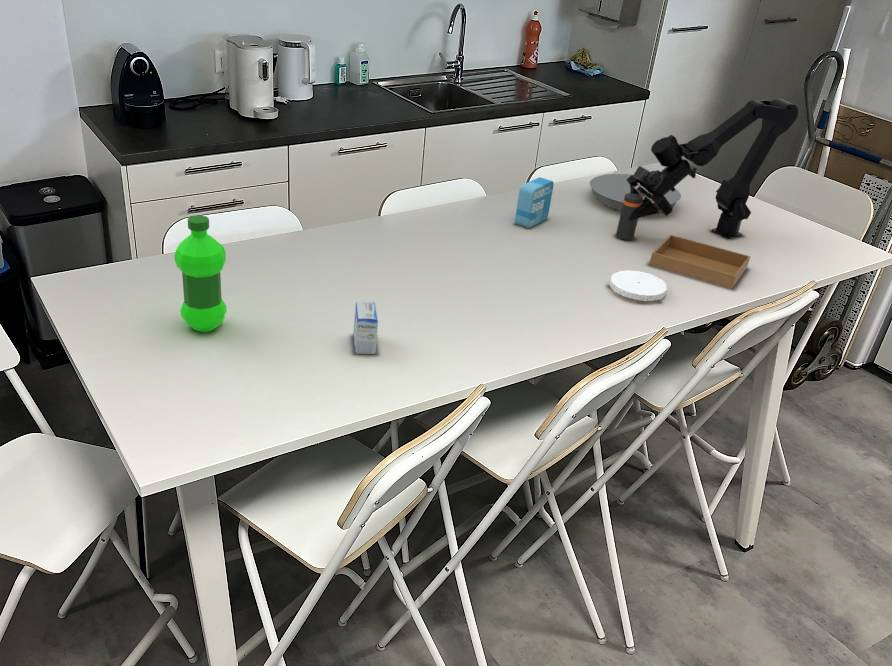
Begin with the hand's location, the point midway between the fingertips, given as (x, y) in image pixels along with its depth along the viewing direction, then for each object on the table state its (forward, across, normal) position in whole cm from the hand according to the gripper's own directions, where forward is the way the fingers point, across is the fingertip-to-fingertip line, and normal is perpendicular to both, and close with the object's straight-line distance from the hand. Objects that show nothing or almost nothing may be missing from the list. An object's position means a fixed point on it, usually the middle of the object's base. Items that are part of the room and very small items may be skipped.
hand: (625, 215), depth 241 cm
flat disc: (-7, -26, +17) cm, 31 cm away
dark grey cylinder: (+4, 0, +5) cm, 6 cm away
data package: (+20, -13, -11) cm, 27 cm away
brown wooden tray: (-4, +21, +14) cm, 25 cm away
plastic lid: (+13, +33, -3) cm, 35 cm away
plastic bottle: (+89, +38, -80) cm, 125 cm away
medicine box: (+65, +51, -56) cm, 100 cm away
